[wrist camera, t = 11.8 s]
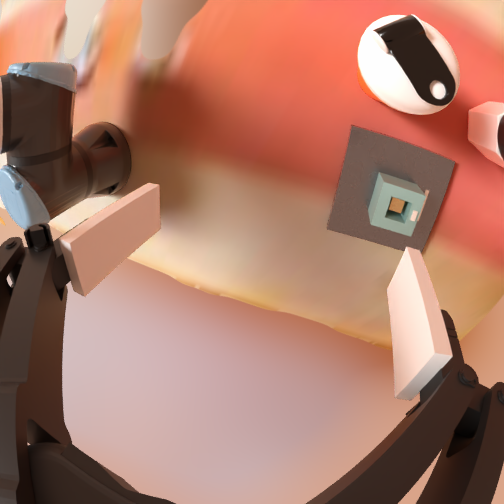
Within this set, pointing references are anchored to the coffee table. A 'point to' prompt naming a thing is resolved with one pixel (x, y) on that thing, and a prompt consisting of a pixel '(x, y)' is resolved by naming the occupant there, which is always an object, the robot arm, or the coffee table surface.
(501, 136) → the jar
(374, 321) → the coffee table surface
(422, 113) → the shaker bottle
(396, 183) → the teal open box
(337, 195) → the hub plate
